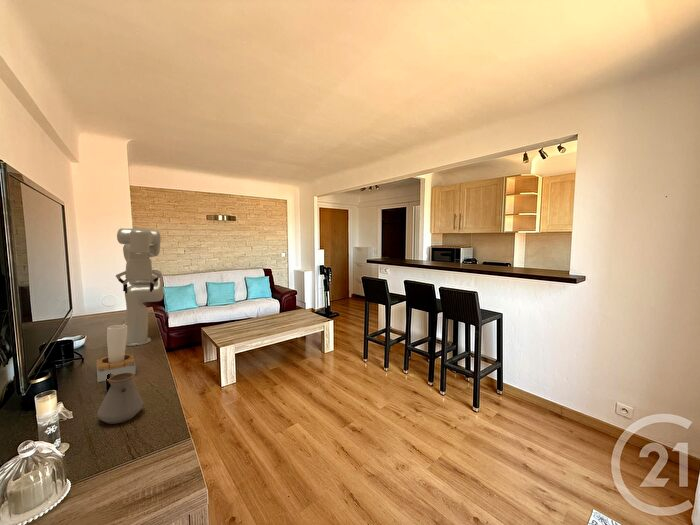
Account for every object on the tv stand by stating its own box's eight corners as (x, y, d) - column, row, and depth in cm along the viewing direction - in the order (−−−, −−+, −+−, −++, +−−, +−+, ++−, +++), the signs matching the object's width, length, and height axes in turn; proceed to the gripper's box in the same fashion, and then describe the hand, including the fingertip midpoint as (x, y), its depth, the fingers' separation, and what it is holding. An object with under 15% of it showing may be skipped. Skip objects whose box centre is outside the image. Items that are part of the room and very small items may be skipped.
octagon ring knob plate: (96, 368, 125) (96, 356, 125) (131, 362, 133) (131, 350, 133) (97, 382, 113) (97, 368, 113) (135, 374, 121) (135, 361, 121)
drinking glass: (105, 361, 123) (106, 326, 123) (125, 358, 127) (126, 324, 127) (106, 366, 118) (107, 329, 118) (127, 362, 122) (128, 327, 122)
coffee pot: (97, 414, 92) (98, 368, 92) (141, 403, 100) (142, 360, 99) (95, 451, 76) (95, 395, 75) (148, 435, 83) (149, 384, 83)
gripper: (159, 256, 145) (159, 289, 147) (115, 255, 134) (115, 291, 135) (162, 257, 140) (161, 292, 141) (116, 256, 128) (115, 294, 130)
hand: (138, 292), depth 138 cm, fingers open, 9 cm apart
